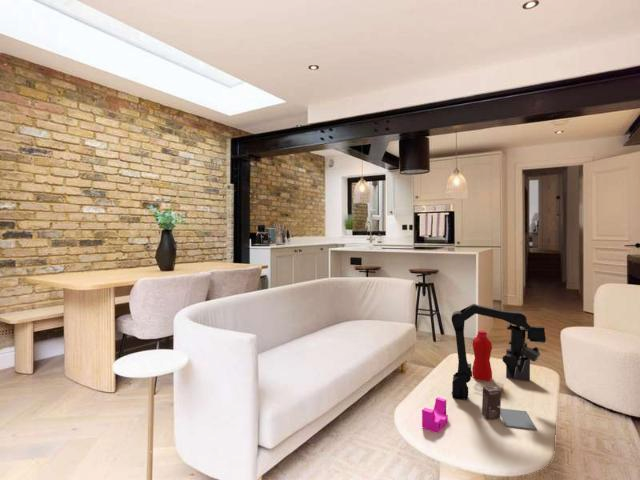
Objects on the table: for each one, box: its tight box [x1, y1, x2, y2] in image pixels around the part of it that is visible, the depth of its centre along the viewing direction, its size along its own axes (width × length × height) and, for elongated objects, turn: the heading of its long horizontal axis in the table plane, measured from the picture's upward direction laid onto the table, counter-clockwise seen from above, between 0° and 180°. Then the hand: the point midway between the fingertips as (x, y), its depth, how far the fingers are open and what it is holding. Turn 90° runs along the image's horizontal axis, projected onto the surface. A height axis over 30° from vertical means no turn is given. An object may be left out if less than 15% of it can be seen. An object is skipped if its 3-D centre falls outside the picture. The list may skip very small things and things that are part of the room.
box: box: [481, 385, 502, 420], centre depth 156 cm, size 6×4×12 cm
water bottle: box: [468, 330, 493, 382], centre depth 198 cm, size 9×11×25 cm
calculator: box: [505, 348, 531, 382], centre depth 197 cm, size 11×4×15 cm, turn 63°
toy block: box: [421, 396, 449, 434], centre depth 151 cm, size 15×6×8 cm, turn 139°
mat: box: [500, 408, 538, 431], centre depth 154 cm, size 11×15×1 cm
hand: (516, 374), depth 166 cm, fingers open, 9 cm apart
